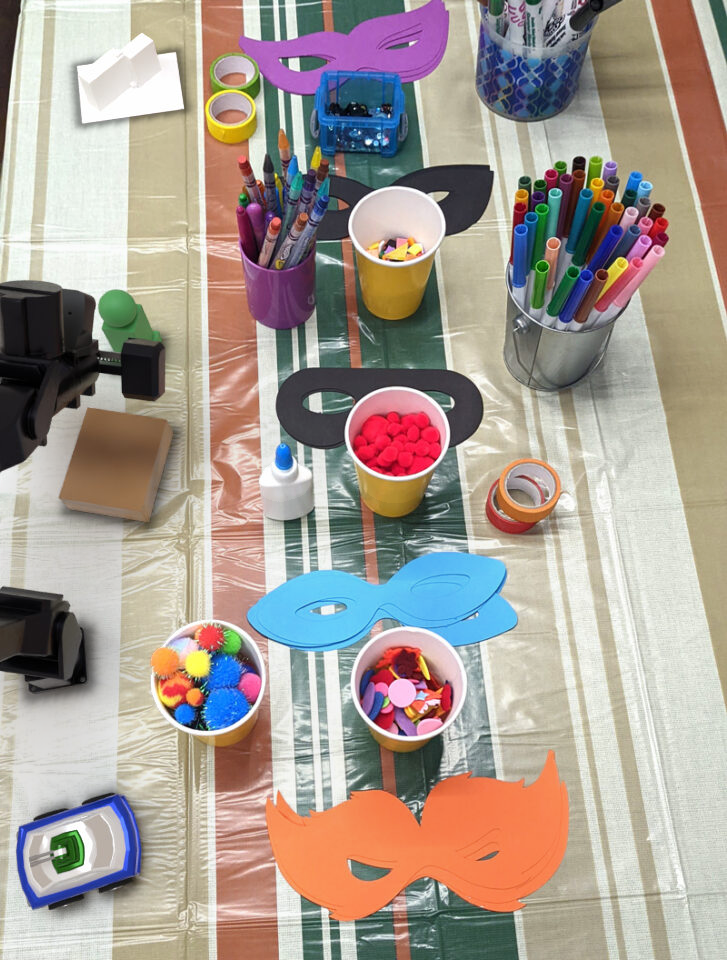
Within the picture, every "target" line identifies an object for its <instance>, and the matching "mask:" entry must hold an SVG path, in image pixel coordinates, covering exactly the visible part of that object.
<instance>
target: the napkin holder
mask: <svg viewBox="0 0 727 960" xmlns="http://www.w3.org/2000/svg"><path fill="white" fill-rule="evenodd" d="M177 57H178V56H177V52H176V51H175V52H167V53H160V54H158V53H157V49H156V46H155V42H154V40H153V39H152V38H150V37H149V36H147V35H146V34H145V33H143V32H141V33H139V34H138V35H137V36H135V37H134V38H133V39H132V40H130V41H129V42H128V43H127V44H126V45H124V46H123V47H122V48H121V49H119V48H118V49H117V48H115V47H114V46H113V47H112V48H110V49H109V50H108V51H107V52H105V53H104V54H103V55H102V56H100V57H99V58H98V59H96V60H95V61H94V62H93V63H89V64H81V65H76V69H77V70H76V71H77V80H78V91H79V93H78V94H79V104H80V115H81V123H82V125H83V124H90V123H96V122H104V121H109V120H117V119H118V120H119V119H123V118H124V119H125V118H129V117H130V118H131V117H138V116H144V115H152V114H159V113H165V112H172V111H178V110H179V111H180V110H185V107H184V99H183V93H182V85H181V79H180V71H179V64H178V58H177Z"/></svg>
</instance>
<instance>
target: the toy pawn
mask: <svg viewBox="0 0 727 960" xmlns="http://www.w3.org/2000/svg"><path fill="white" fill-rule="evenodd" d="M97 310H98V314H99V316H100V318H101V319H102V326H101V330H102V332H103V334H104V336H105V338H106V340H107V342H108V343H109V346H110V348H111V349H112V351H114V352H121V350H122V346H123V343H124V342H125V341H126V340H128V337H129V338H138V339H146V340H151V341H159V342H161V343H162V342H163V337H162V336H161V333H160V331H159V330H153V328H152V326H151V324H150V321H149V319H148V316H147V314H146V312H145V309H144V308H143V305H142V304H140V303H137V302H136V300H135V299H134V297H133V296H132V295H131V293H129V292H128V291H126V290H123V289H116V288H114V289H110V290H107V291H106V292H105V293H103V294H102V295H101V296H100V298H99V300H98V304H97ZM112 361H113V359H112ZM116 361H117V360H116ZM119 362H120V360H119Z"/></svg>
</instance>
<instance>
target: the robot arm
mask: <svg viewBox="0 0 727 960" xmlns="http://www.w3.org/2000/svg"><path fill="white" fill-rule="evenodd" d="M96 308H97V301H96V299H95V297H94V296H92V295H91V294H89V293H86V292H84V291H80V290H78V289H71V288H63V286H62V285H60V284H58V283H54V282H52V281H51V282H50V281H45V280H33V279H19V280H18V279H17V280H9V281H3V282H0V474H1V473H2V472H4V471H7V470H9V469H12V468H14V467H17V466H18V465H21V464H23V463H24V462H25V461H27V460H28V458H29V457H30V456H31V455H32V454H33V453H34V452H35V450H37V448H39V447H42V448H43V447H44V448H45V447H47V445H48V435H49V432H50V429H51V426H52V420H53V418H54V417H55V416H56V415H57V414H59V413H60V412H61V411H63V410H65V409H73V410H78V409H79V408H80V407H81V406H82V404H81V403H82V402H81V396H85V397H93V396H95V395H96V394H97V393H96V382H97V381H98V380H99V377H100V374H102V375H103V374H104V375H111V376H118V377H119V376H120V382H121V383H120V385H121V387H120V390H121V395H122V396H123V398H124V399H128V400H129V399H130V400H136V401H137V400H138V401H144V402H145V401H146V402H152V403H156V401H157V400H159V399H160V398H162V396H163V395H164V394H165V393H166V347H165V345H164V344H163V343H162V342H159V341H151V340H146V339H138V338H129V337H128V340H126V341H125V342H124V343H123V346H122V350H121V352H114V351H113V350H106V349H105V350H104V349H99V347H100V346H99V339H95V338H93V331H94V321H95V311H96ZM112 359H113V361H112ZM116 360H117V361H116ZM119 360H120V362H119ZM64 596H65V595H64V594H62V593H55V592H47V591H42V590H35V589H26V588H19V587H12V586H5V585H2V586H1V587H0V672H2V673H10V674H16V675H23V676H24V681H25V683H27V684H28V691H29V692H30V693H31V694H38V693H43V692H49V691H55V690H60V689H67V688H70V687H71V688H72V687H78V686H83V685H86V684H87V683H88V681H89V672H88V670H89V669H88V656H87V655H88V654H87V641H86V630H85V628H84V627H81V626H80V625H79V622H78V619H77V616H76V614H75V613H74V612H73V611H69V610H70V608H71V603H70V602H69V600H66V599H65V600H64ZM82 679H84V680H83V681H82ZM34 687H35V688H34ZM33 688H34V690H33Z"/></svg>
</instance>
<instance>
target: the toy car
mask: <svg viewBox="0 0 727 960" xmlns="http://www.w3.org/2000/svg"><path fill="white" fill-rule="evenodd" d="M17 829H18V831H16V834H15V835H16V846H15V856H16V869H17V874H18V878H19V882H20V887H21V890H22V892H23V894H24V896H25V899H26V903H27V906H28V907H29V908H30V909H31V910H32V911H35V910H39V909H43V908H45V907H48V911H53V910H56V909H59V908H60V909H61V908H65V907H67V906H70V905H72V904H73V905H74V904H75V903H77V902H79V901H82V900H84V899H85V893H89V892H92V891H94V890H97V892H98V894H103V893H106V892H108V891H109V892H110V891H114V890H118V889H120V888H123V887H124V886H127V885H129V884H132V883H133V882H134V877H137V876H140V875H141V871H142V854H143V847H142V842H141V834H140V829H139V825H138V822H137V818H136V814H135V812H134V810H133V809H132V807H131V805H130V803H129V801H128V800H127V798H126V795H125V794H123V793H116V792H109V793H104V794H100V795H97V796H94V797H91V798H87V799H86V800H83V801H82V802H81V805H79V806H76V807H73V808H70V809H68V808H67V807H66V808H64V807H63V808H58V809H55V810H51V811H47V812H45V813H41V814H39V815H36V816H35V817H33V819H32V821H30V822H26V823H24V824H20V825H19V826H18V828H17Z"/></svg>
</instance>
